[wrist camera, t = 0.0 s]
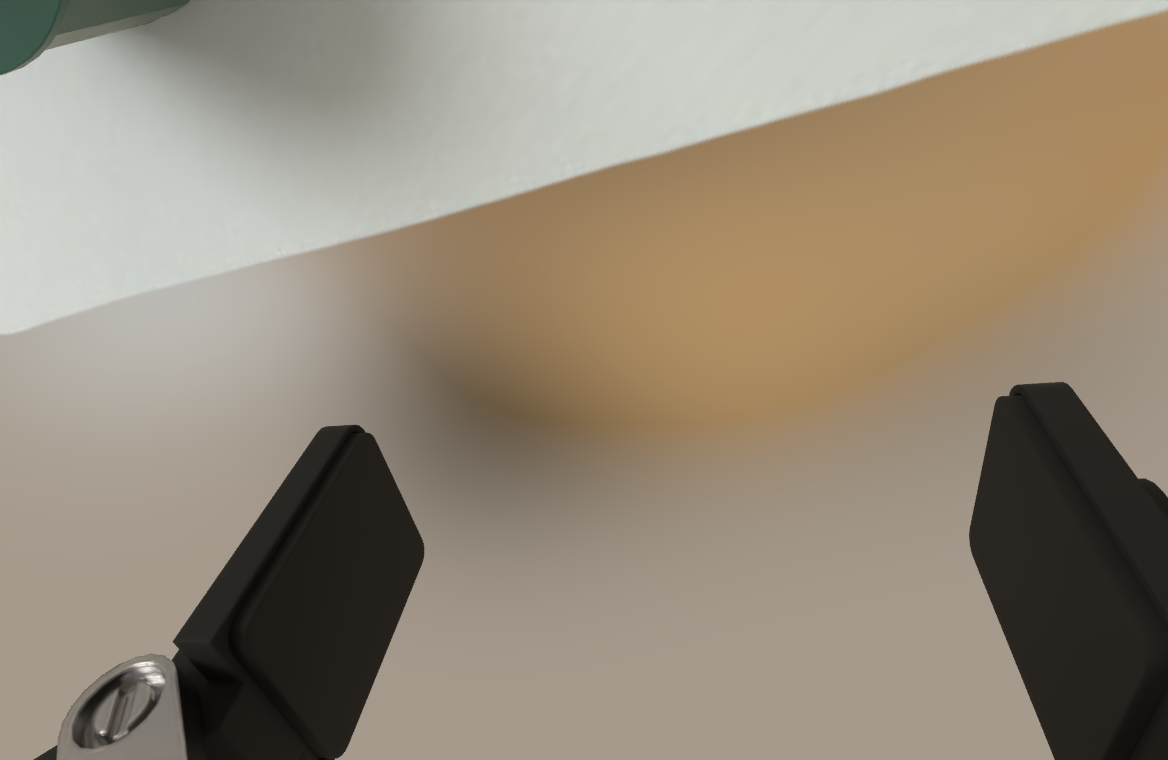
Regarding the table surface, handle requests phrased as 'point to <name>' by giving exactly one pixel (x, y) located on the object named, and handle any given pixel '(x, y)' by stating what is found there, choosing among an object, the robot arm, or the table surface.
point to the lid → (28, 30)
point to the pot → (109, 17)
